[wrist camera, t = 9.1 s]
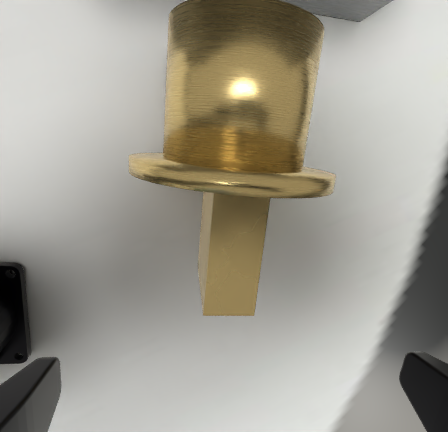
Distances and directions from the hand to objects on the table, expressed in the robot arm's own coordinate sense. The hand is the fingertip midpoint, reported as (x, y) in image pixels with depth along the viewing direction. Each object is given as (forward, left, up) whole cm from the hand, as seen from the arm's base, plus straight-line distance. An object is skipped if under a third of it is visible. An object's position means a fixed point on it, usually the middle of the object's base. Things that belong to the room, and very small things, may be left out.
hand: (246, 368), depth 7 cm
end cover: (+4, 0, -11) cm, 11 cm away
